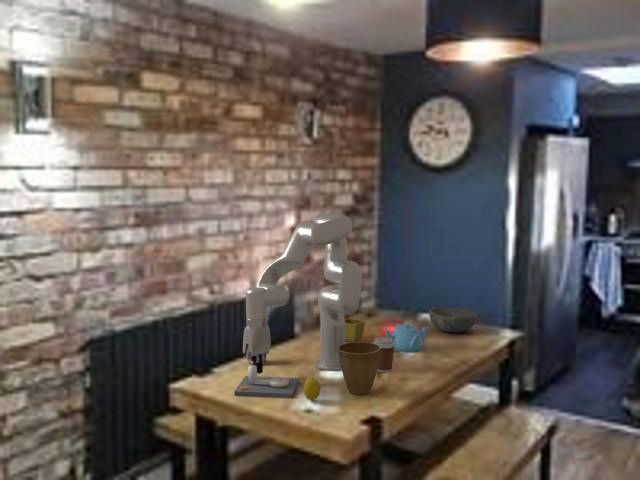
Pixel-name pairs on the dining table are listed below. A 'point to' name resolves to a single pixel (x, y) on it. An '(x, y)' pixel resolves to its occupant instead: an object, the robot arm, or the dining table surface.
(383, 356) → the coffee cup
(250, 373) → the white lever handle
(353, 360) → the plant pot
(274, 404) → the dining table surface
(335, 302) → the robot arm
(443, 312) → the bowl
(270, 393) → the stand board
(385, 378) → the dining table surface
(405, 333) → the teapot
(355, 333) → the flower pot
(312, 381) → the lemon
